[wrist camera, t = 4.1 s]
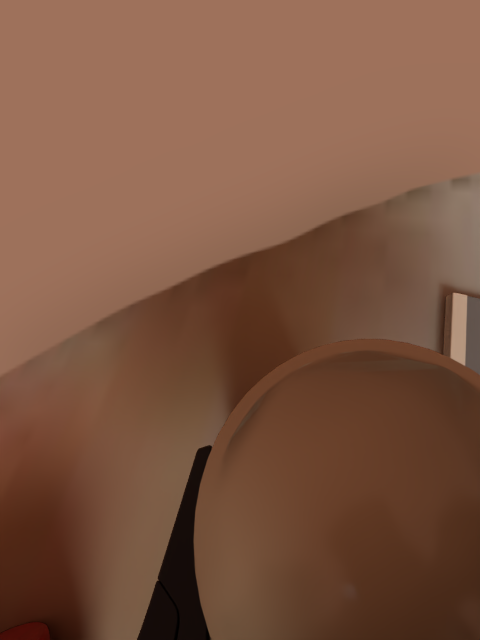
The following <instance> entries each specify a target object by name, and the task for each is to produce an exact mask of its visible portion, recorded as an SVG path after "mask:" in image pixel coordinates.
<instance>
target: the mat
mask: <svg viewBox="0 0 480 640" xmlns="http://www.w3.org/2000/svg"><path fill="white" fill-rule="evenodd" d="M443 355H445V356H447V357H449V358H452V359H453V360H455V361H457V362H459V363H461V364H463V365H464V366H466V367H468V368H470V369H472V370H473V371H475V372H476V373H478V374H479V375H480V299H479V298H474V297H469V296H467V295H464V294H459V293H454V292H453V293H452V294H450V295H448V296H446V307H445V327H444V347H443Z"/></svg>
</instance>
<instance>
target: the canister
mask: <svg viewBox="0 0 480 640" xmlns="http://www.w3.org/2000/svg"><path fill="white" fill-rule="evenodd" d="M194 557H195V573H196V579H197V585H198V591H199V597H200V603H201V607H202V610H203V614H204V617H205V621H206V624H207V627H208V631H209V634H210V637H211V640H480V375H479V374H478V373H476V372H475V371H473V370H472V369H470V368H468V367H466V366H464V365H463V364H461V363H459V362H457V361H455V360H453V359H452V358H449V357H447V356H445V355H442V354H440V353H437V352H435V351H432V350H430V349H427V348H423V347H420V346H416V345H412V344H409V343H404V342H397V341H391V340H383V339H357V340H347V341H339V342H335V343H331V344H327V345H323V346H319V347H316V348H314V349H311V350H309V351H306V352H304V353H301V354H299V355H297V356H295V357H293V358H291V359H290V360H288V361H286V362H284V363H282V364H281V365H279V366H278V367H276V368H275V369H274V370H272V371H271V372H270V373H268V374H267V375H266V376H264V377H263V378H262V379H261V380H260V381H259V382H258V383H257V384H256V385H255V386H254V387H253V388H252V389H251V390H250V391H249V392H248V393H246V395H245V396H244V397H243V398H242V400H241V401H240V402H239V403H238V405H237V406H236V407H235V409H234V410H233V411H232V412H231V414H230V416H229V417H228V419H227V421H226V422H225V424H224V426H223V427H222V429H221V431H220V432H219V434H218V436H217V439H216V441H215V443H214V445H213V448H212V450H211V452H210V455H209V457H208V460H207V463H206V466H205V470H204V473H203V476H202V480H201V483H200V488H199V494H198V499H197V505H196V511H195V526H194Z"/></svg>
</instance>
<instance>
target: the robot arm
mask: <svg viewBox="0 0 480 640" xmlns="http://www.w3.org/2000/svg"><path fill="white" fill-rule="evenodd" d="M211 450H212V446H210V445H208V446H205V447H202V448H199V449H198V450H197V453H196V456H195V459H194V462H193V466H192V469H191V472H190V475H189V479H188V482H187V485H186V488H185V492H184V495H183V498H182V501H181V504H180V508H179V511H178V514H177V517H176V521H175V524H174V527H173V530H172V533H171V537H170V540H169V543H168V546H167V550H166V553H165V556H164V559H163V563H162V566H161V569H160V572H159V575H158V580H159V581H157V582H156V585H155V588H154V591H153V594H152V598H151V601H150V604H149V607H148V610H147V613H146V616H145V619H144V622H143V625H142V628H141V630H140V633H139V636H138V638H137V640H211V637H210V634H209V631H208V627H207V624H206V621H205V617H204V614H203V610H202V607H201V603H200V597H199V591H198V585H197V579H196V573H195V557H194V526H195V511H196V505H197V499H198V494H199V488H200V483H201V480H202V476H203V473H204V470H205V466H206V463H207V460H208V457H209V455H210V452H211Z"/></svg>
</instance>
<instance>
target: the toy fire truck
mask: <svg viewBox="0 0 480 640" xmlns="http://www.w3.org/2000/svg"><path fill="white" fill-rule="evenodd" d="M0 640H50V634H49V630H48V627H47V625H46V624H44V623H41V622H31V623H27V624H23V625H19V626H16V627H14V628H11V629H9V630H6V631H4V632H2V633H0Z"/></svg>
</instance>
